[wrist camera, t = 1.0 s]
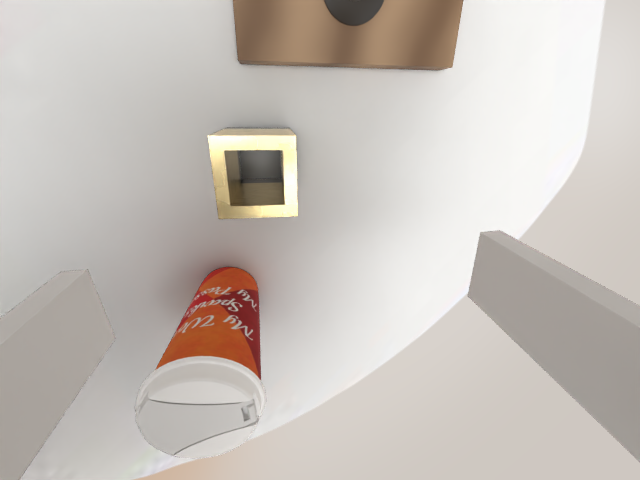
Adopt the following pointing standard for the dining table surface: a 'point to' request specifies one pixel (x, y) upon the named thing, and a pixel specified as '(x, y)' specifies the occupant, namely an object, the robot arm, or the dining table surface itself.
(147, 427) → the paper cup
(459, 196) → the dining table surface
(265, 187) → the sleeve
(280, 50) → the pin board
